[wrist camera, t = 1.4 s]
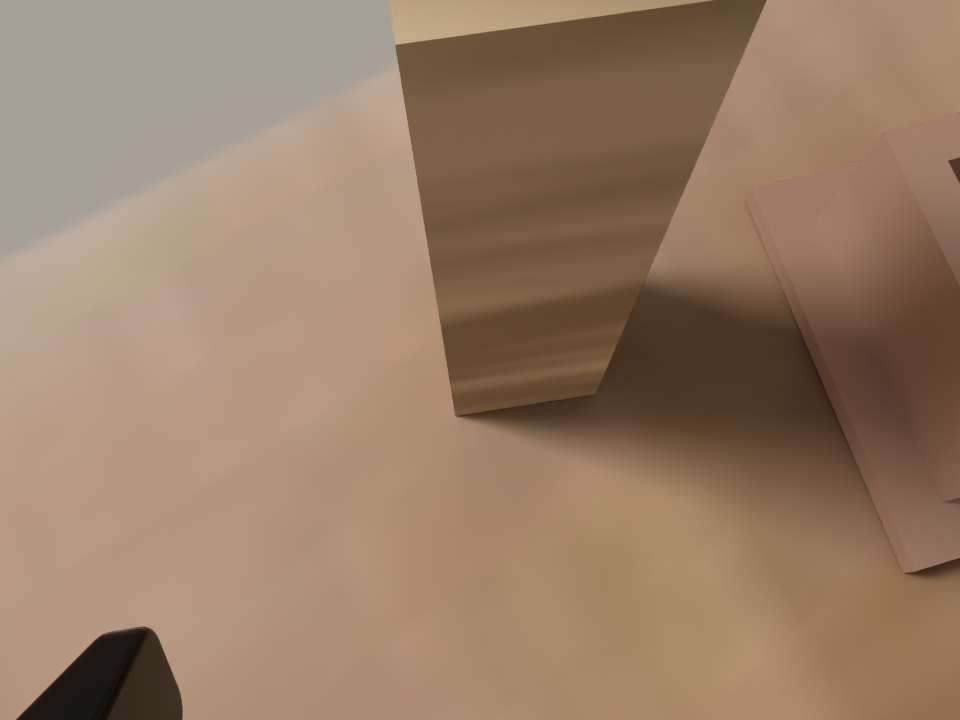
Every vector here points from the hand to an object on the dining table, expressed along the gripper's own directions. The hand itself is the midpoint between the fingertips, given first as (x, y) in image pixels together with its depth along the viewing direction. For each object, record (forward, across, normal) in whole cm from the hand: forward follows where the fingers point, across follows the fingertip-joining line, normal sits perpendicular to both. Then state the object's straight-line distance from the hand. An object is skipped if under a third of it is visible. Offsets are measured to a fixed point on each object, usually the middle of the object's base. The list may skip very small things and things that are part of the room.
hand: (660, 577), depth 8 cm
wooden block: (+14, 0, +4) cm, 14 cm away
